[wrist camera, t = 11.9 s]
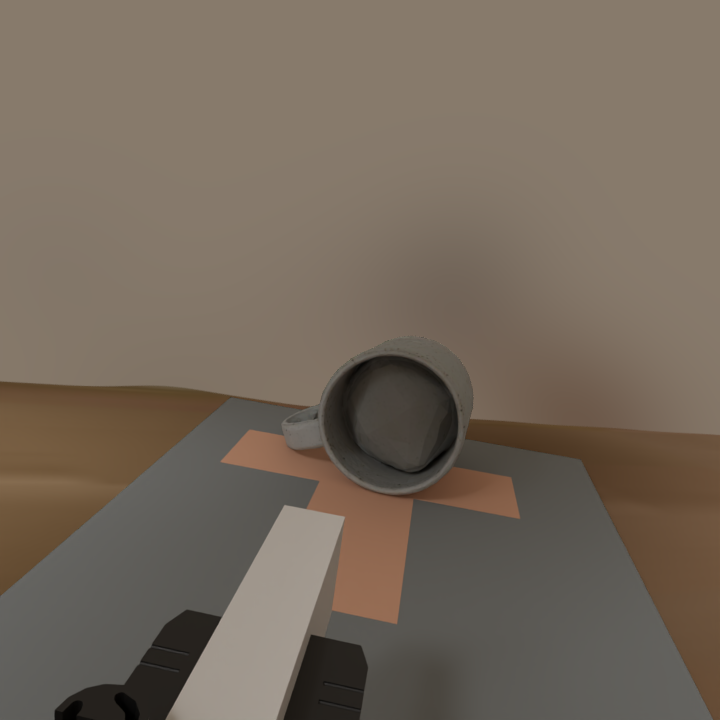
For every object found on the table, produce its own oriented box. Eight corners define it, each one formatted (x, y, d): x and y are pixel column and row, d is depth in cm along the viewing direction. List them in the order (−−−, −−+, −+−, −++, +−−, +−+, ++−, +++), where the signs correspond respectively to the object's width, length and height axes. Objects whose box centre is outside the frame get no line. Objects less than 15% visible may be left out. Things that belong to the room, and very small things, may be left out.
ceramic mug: (465, 453, 39) (486, 334, 37) (452, 512, 31) (476, 365, 29) (306, 420, 41) (317, 307, 39) (256, 468, 33) (267, 329, 31)
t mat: (-217, 791, 14) (-218, 783, 14) (230, 399, 43) (230, 396, 43) (894, 1090, 12) (899, 1083, 12) (579, 462, 41) (580, 459, 40)
